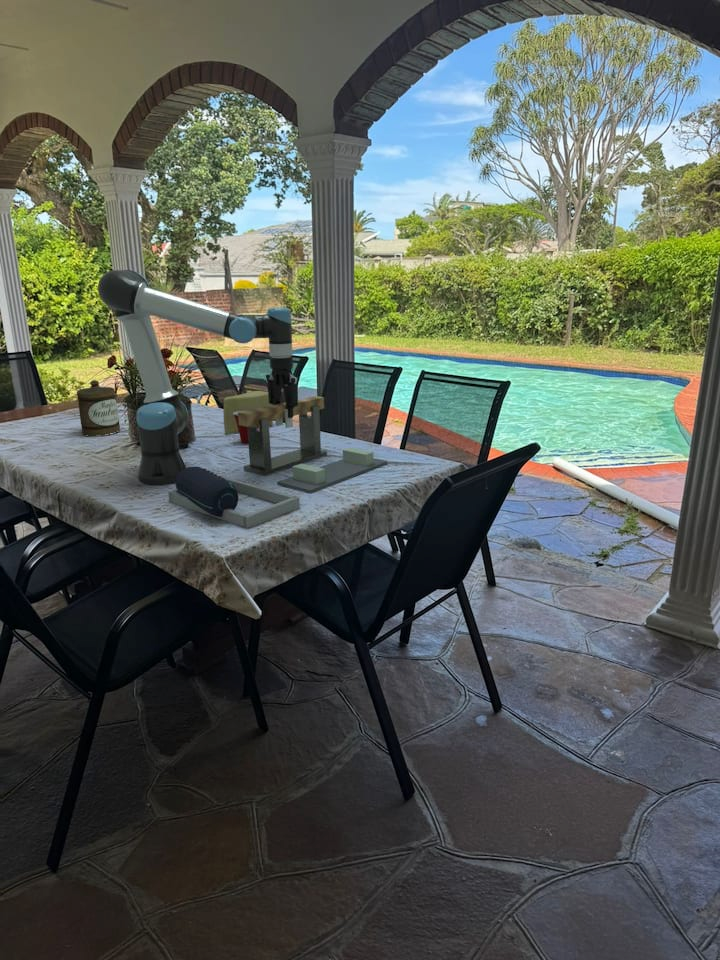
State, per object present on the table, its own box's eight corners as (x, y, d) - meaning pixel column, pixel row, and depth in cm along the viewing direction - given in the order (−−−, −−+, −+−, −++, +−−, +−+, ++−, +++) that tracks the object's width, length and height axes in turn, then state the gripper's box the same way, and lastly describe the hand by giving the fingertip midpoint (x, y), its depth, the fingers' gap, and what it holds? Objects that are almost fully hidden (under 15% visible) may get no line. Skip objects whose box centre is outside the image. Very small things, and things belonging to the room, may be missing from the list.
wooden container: (98, 438, 259) (90, 384, 252) (75, 434, 266) (66, 381, 260) (128, 431, 271) (121, 379, 264) (105, 427, 278) (98, 376, 272)
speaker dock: (247, 528, 164) (247, 517, 163) (169, 501, 185) (168, 491, 184) (299, 507, 178) (299, 497, 177) (221, 484, 199) (220, 475, 198)
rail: (247, 426, 201) (246, 414, 200) (238, 425, 204) (237, 412, 203) (324, 408, 228) (323, 397, 227) (315, 407, 230) (315, 396, 229)
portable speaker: (245, 515, 173) (243, 480, 170) (211, 524, 167) (208, 488, 164) (205, 492, 192) (202, 460, 189) (173, 499, 186) (170, 466, 183)
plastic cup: (266, 438, 254) (264, 408, 251) (259, 445, 244) (257, 414, 240) (239, 438, 255) (237, 408, 252) (231, 445, 245) (229, 414, 241)
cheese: (233, 436, 259) (230, 399, 254) (218, 432, 265) (215, 397, 261) (274, 426, 275) (272, 391, 270) (259, 423, 281) (257, 389, 276)
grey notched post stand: (264, 475, 207) (261, 421, 201) (244, 470, 213) (240, 417, 207) (326, 455, 229) (325, 405, 223) (306, 451, 235) (304, 402, 229)
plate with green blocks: (310, 493, 189) (309, 477, 188) (277, 484, 198) (276, 469, 196) (387, 464, 217) (387, 449, 216) (355, 457, 226) (355, 443, 224)
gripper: (308, 357, 207) (310, 427, 215) (271, 353, 218) (274, 420, 225) (291, 359, 202) (294, 431, 209) (254, 355, 212) (258, 424, 219)
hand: (284, 426), depth 217 cm, fingers closed on rail, 4 cm apart
